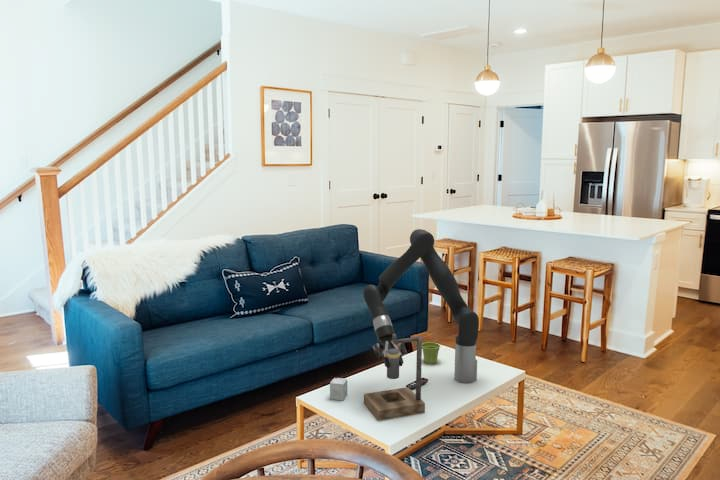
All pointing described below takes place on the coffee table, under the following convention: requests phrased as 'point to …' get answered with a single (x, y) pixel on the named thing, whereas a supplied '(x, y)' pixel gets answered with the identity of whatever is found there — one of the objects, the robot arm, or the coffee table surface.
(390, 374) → the banded grey cylinder
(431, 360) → the plant pot
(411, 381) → the coffee table surface
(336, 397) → the skincare box
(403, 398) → the wooden gallows stand
